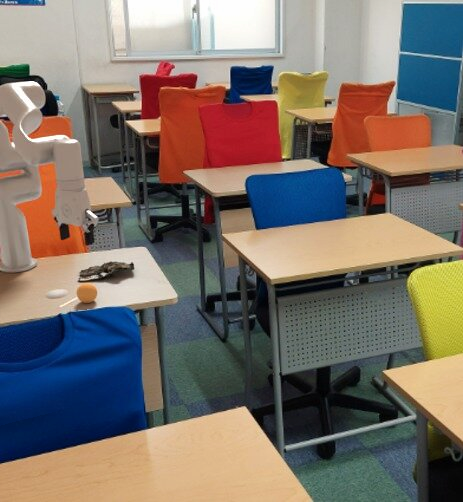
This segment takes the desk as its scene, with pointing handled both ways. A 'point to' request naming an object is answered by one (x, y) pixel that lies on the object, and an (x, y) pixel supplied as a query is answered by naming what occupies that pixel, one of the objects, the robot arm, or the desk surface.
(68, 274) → the desk surface
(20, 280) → the desk surface
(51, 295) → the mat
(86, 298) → the ball
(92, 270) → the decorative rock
